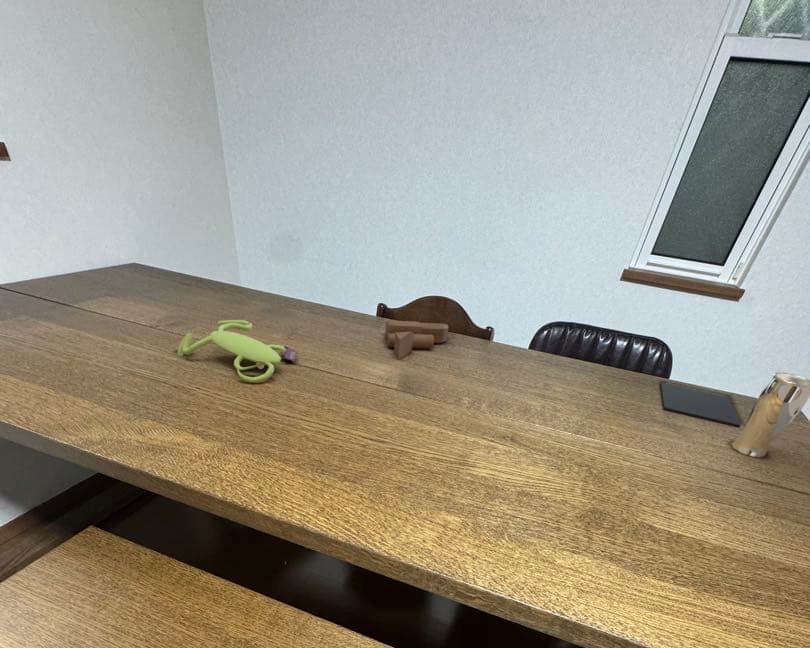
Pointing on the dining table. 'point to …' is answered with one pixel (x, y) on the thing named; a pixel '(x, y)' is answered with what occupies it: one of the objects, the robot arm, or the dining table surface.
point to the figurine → (241, 348)
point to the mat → (698, 404)
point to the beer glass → (772, 413)
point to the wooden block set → (413, 335)
